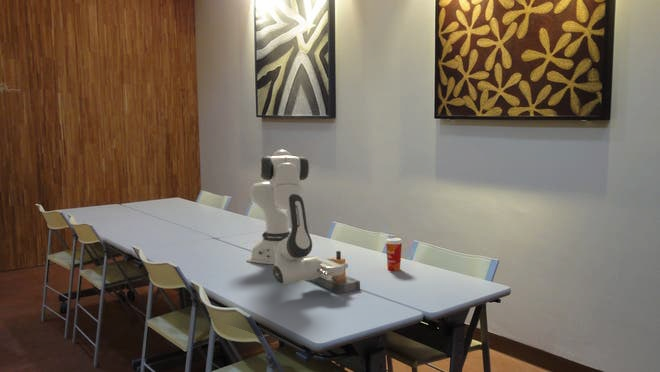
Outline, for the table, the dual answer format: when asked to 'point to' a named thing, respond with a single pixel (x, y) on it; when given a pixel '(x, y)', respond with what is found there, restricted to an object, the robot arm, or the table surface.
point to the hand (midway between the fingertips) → (340, 262)
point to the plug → (340, 261)
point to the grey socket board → (338, 284)
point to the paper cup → (393, 253)
